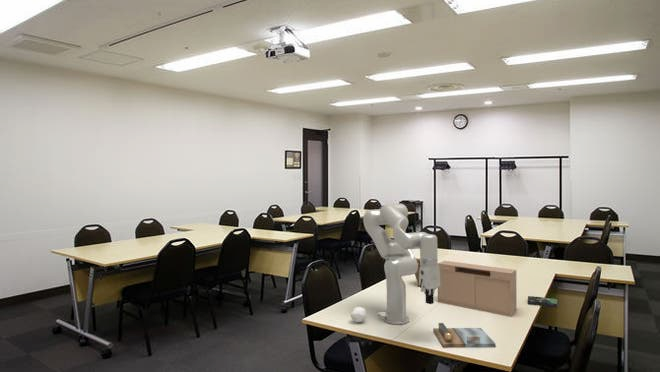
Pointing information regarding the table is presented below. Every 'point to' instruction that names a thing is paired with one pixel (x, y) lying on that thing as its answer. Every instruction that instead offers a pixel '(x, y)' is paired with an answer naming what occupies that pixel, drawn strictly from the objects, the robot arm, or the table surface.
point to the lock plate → (465, 338)
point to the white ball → (358, 314)
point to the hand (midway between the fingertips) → (429, 303)
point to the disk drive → (542, 301)
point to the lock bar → (445, 332)
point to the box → (478, 287)
